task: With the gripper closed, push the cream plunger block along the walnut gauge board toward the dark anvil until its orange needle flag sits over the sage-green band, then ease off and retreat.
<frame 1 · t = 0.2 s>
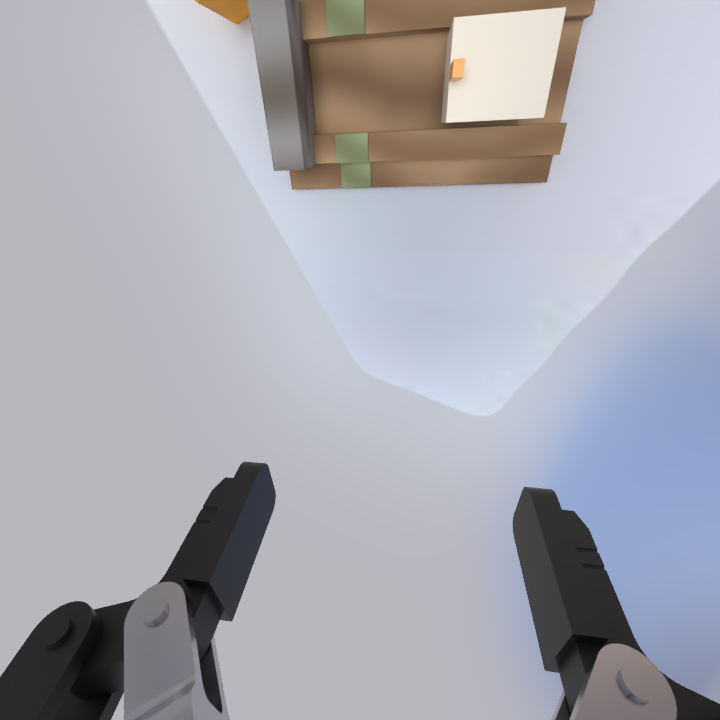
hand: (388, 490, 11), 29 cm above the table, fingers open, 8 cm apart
plunger: (495, 73, 23), point 6 cm above the table, slide at 0.0 cm
gauge board: (416, 86, 28), on the table
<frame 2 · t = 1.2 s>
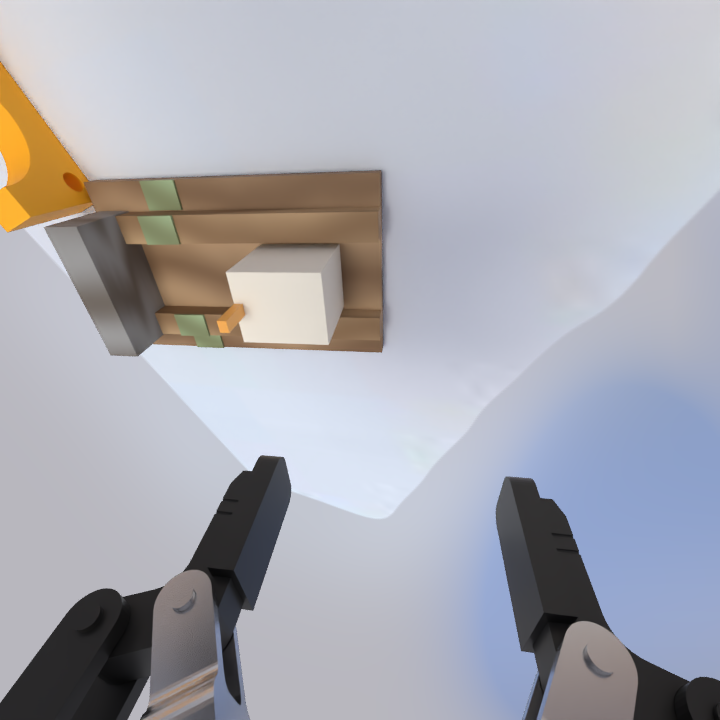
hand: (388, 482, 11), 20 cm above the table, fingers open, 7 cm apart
pipe clamp: (26, 128, 26), on the table
plunger: (287, 298, 24), point 6 cm above the table, slide at 0.0 cm
gauge board: (250, 269, 29), on the table
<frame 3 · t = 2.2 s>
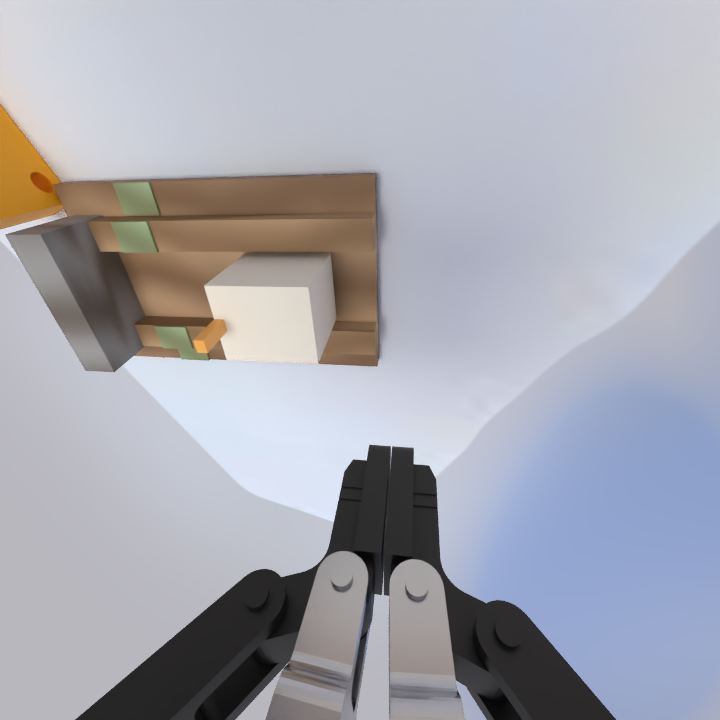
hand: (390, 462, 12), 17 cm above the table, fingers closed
plunger: (274, 312, 22), point 6 cm above the table, slide at 0.0 cm
gauge board: (236, 278, 27), on the table
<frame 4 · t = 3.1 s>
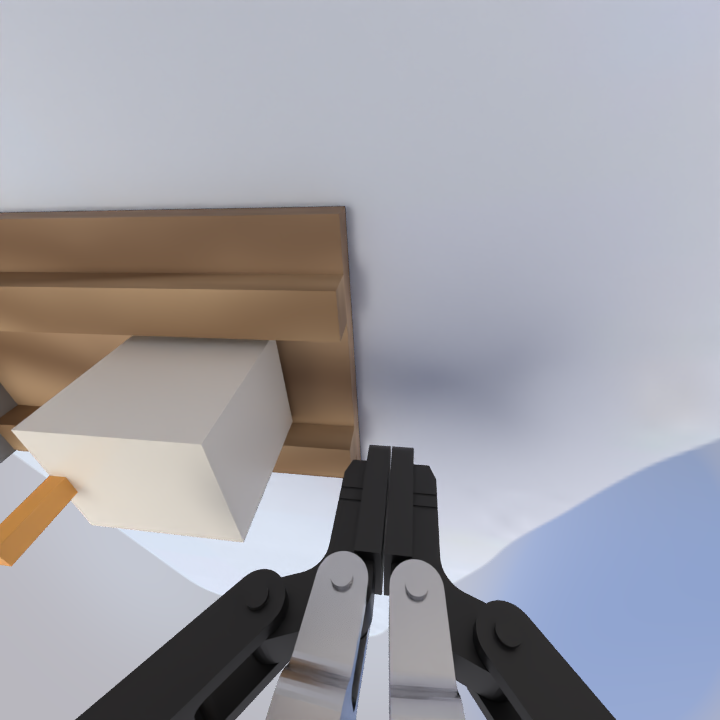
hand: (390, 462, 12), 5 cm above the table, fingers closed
plunger: (169, 448, 13), point 6 cm above the table, slide at 0.0 cm
gauge board: (143, 355, 18), on the table
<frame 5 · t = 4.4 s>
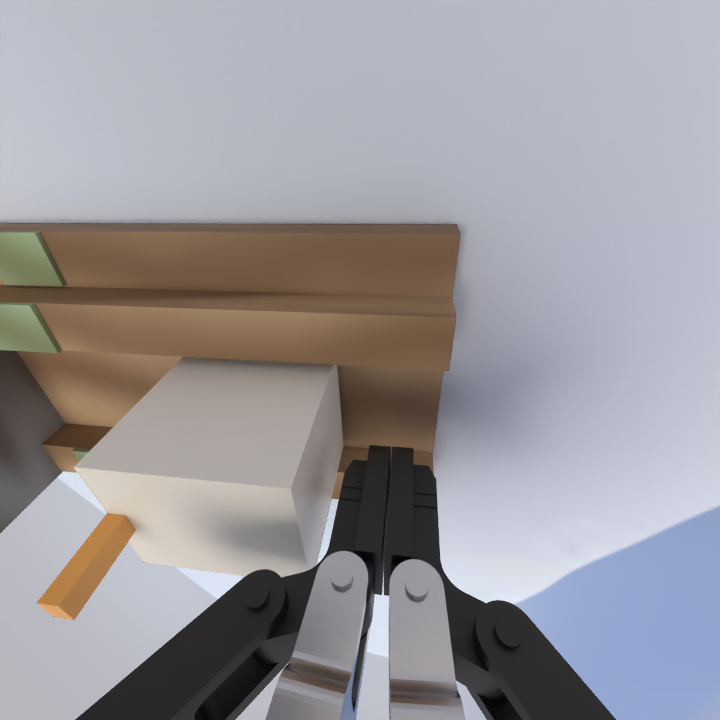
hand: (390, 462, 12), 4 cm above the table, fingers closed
plunger: (230, 480, 12), point 6 cm above the table, slide at 1.1 cm, touching gripper
gauge board: (205, 374, 17), on the table
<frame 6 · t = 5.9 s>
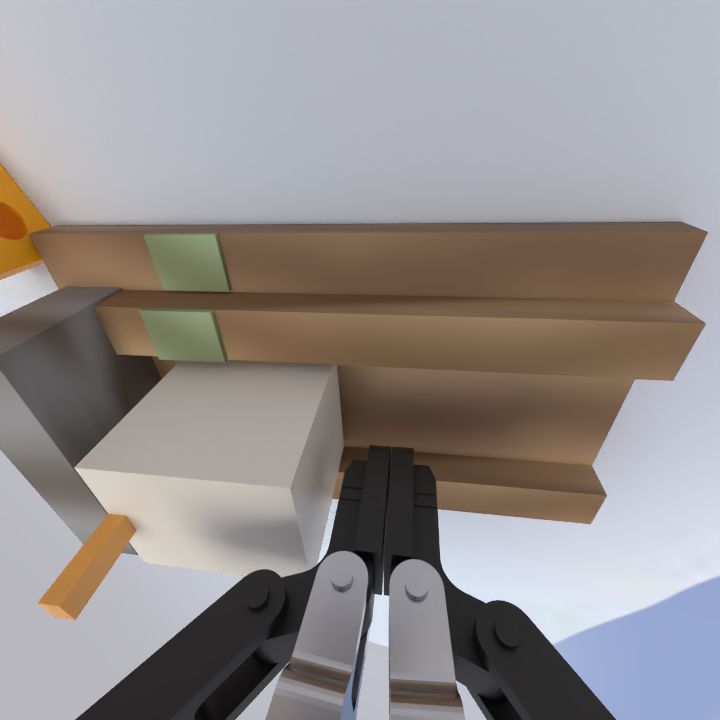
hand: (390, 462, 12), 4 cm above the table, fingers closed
plunger: (231, 481, 12), point 6 cm above the table, slide at 7.9 cm, touching gripper
gauge board: (344, 383, 16), on the table
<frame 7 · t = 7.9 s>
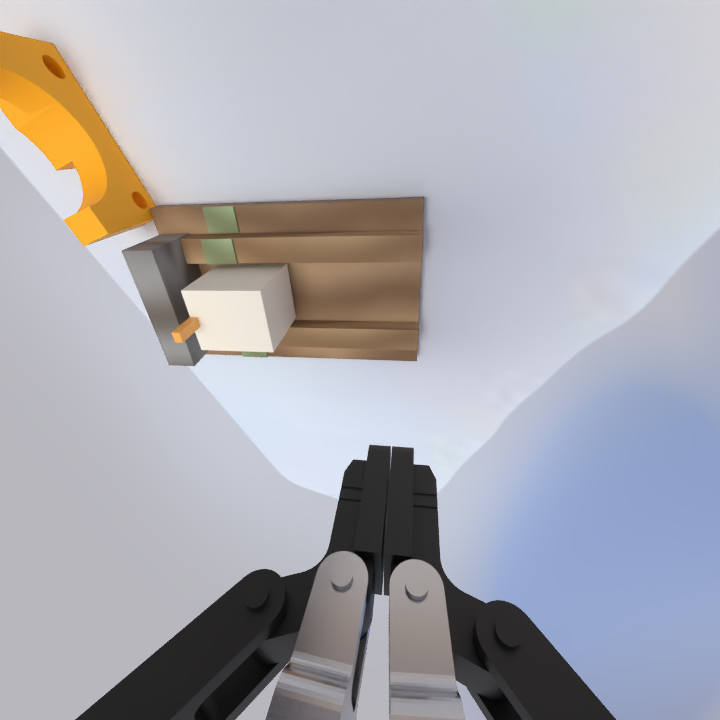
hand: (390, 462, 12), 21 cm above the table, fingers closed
pipe clamp: (97, 150, 28), on the table
plunger: (239, 312, 28), point 6 cm above the table, slide at 8.0 cm
gauge board: (296, 285, 32), on the table
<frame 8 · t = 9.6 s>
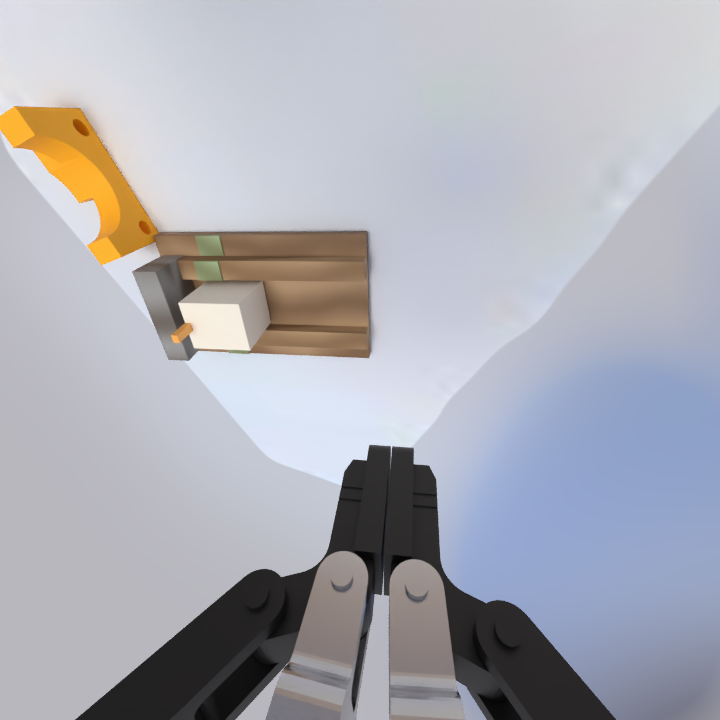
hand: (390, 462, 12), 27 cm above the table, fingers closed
pipe clamp: (111, 186, 36), on the table
plunger: (223, 318, 35), point 6 cm above the table, slide at 8.0 cm
gauge board: (271, 296, 40), on the table
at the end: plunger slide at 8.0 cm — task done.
